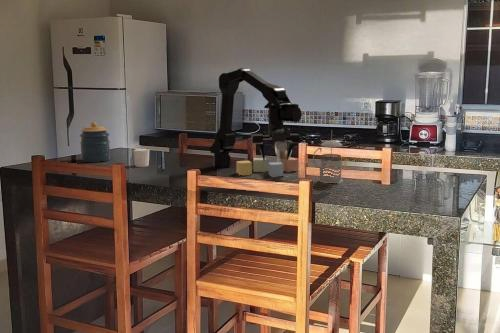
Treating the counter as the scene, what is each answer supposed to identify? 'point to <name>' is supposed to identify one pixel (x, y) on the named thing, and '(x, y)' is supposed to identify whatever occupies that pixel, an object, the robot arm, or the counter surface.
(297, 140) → the robot arm
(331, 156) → the french press
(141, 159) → the white cup
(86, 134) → the canister
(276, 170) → the grey cube
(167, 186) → the counter surface
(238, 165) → the ochre block
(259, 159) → the sage block
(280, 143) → the beer glass
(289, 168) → the terracotta block
